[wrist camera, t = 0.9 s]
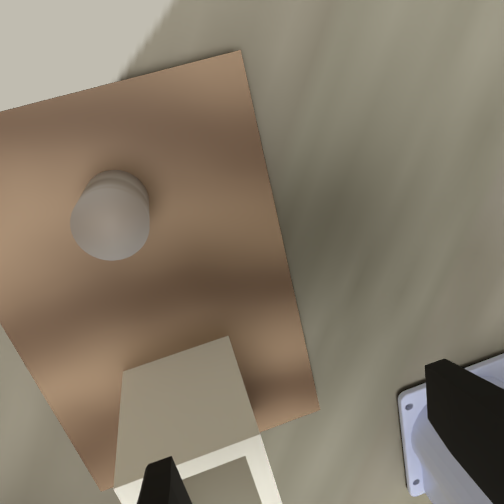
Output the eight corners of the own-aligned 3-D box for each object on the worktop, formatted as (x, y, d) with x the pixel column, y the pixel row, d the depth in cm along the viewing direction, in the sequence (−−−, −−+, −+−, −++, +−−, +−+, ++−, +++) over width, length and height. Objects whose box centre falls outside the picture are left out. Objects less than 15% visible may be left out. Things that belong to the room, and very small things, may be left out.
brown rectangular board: (312, 394, 24) (343, 454, 20) (103, 471, 22) (94, 552, 18) (234, 52, 16) (261, 42, 12) (-91, 135, 15) (-174, 154, 11)
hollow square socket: (252, 412, 21) (288, 524, 16) (158, 446, 21) (162, 574, 15) (228, 335, 19) (260, 434, 14) (122, 371, 19) (113, 488, 13)
